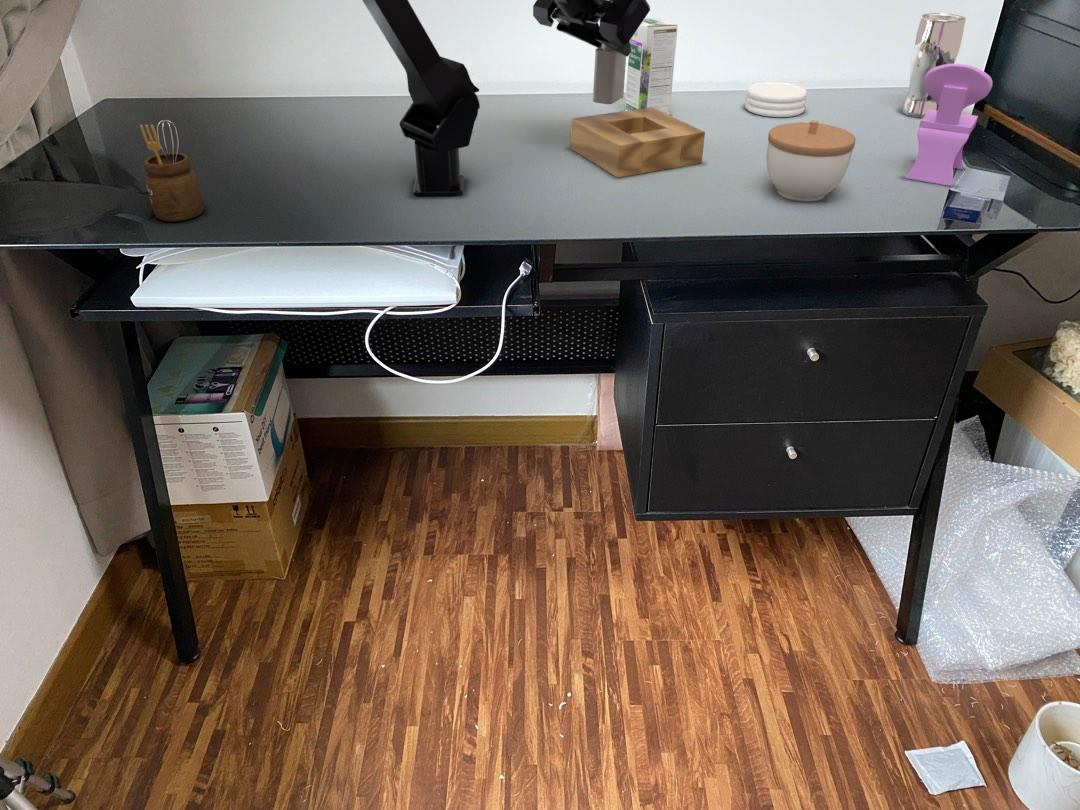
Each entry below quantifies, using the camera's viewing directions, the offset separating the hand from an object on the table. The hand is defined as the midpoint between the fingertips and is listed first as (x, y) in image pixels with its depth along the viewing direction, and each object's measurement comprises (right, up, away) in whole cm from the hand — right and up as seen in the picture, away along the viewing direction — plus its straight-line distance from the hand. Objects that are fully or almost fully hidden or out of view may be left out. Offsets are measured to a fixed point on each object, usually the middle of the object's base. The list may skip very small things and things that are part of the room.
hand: (617, 50), depth 123 cm
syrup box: (+7, -3, +20) cm, 21 cm away
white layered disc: (+29, -1, +22) cm, 36 cm away
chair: (+44, -19, -4) cm, 48 cm away
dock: (+3, -15, +2) cm, 15 cm away
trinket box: (+23, -23, -10) cm, 35 cm away
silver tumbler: (+53, -2, +21) cm, 57 cm away
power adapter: (-1, -6, +3) cm, 7 cm away
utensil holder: (-56, -27, -16) cm, 65 cm away
